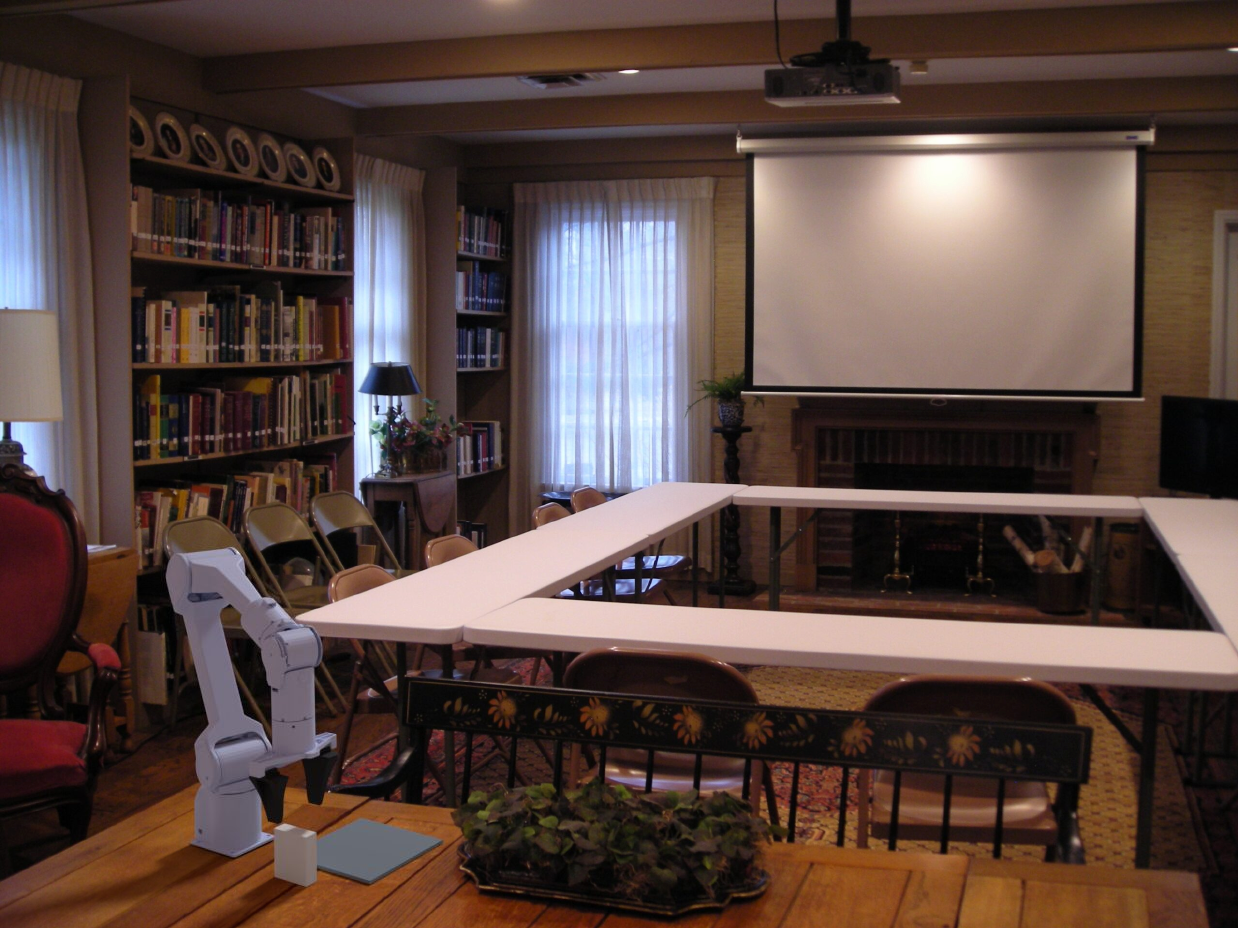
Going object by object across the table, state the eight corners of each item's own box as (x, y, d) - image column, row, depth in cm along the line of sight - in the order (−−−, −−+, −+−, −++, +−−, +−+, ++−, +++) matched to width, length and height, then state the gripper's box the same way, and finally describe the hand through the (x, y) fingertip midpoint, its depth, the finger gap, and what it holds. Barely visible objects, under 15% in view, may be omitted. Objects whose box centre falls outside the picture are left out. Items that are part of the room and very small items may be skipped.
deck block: (274, 876, 162) (274, 828, 161) (285, 871, 163) (284, 823, 163) (306, 886, 159) (305, 837, 158) (316, 881, 161) (316, 832, 160)
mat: (285, 858, 168) (285, 854, 167) (361, 820, 181) (361, 817, 181) (370, 884, 160) (370, 880, 160) (442, 842, 174) (442, 839, 174)
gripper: (275, 734, 151) (277, 836, 152) (352, 706, 164) (353, 800, 165) (236, 726, 154) (239, 825, 155) (314, 699, 167) (316, 791, 168)
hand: (295, 812), depth 160 cm, fingers open, 7 cm apart
